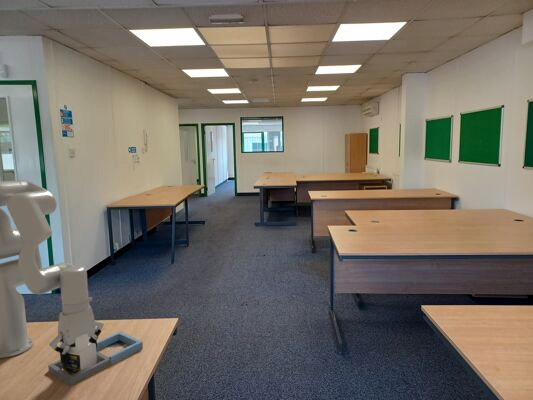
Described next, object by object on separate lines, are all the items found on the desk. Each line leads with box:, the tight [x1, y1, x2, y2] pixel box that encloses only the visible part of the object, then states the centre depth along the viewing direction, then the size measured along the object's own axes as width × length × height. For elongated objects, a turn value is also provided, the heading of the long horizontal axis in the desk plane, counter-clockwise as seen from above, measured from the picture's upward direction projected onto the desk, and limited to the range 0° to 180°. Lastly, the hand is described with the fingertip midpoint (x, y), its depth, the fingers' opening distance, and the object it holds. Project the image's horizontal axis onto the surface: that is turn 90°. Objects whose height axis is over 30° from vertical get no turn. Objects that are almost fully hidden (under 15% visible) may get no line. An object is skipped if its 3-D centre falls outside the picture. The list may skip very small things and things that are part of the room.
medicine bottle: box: [62, 334, 98, 375], centre depth 117 cm, size 7×7×12 cm
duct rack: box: [47, 331, 144, 386], centre depth 123 cm, size 13×26×2 cm, turn 145°
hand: (79, 357), depth 117 cm, fingers closed on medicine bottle, 8 cm apart
